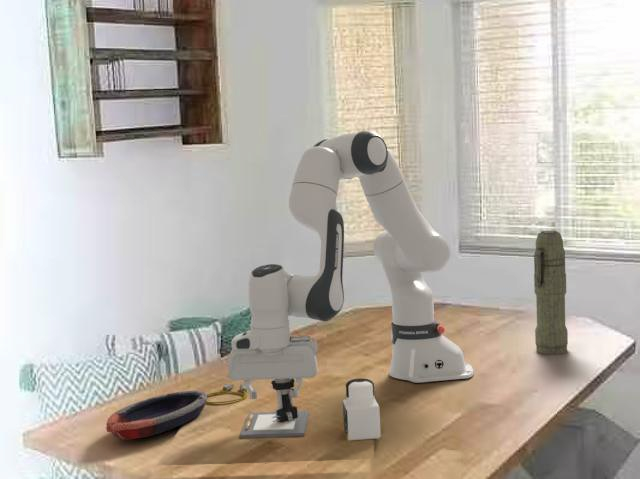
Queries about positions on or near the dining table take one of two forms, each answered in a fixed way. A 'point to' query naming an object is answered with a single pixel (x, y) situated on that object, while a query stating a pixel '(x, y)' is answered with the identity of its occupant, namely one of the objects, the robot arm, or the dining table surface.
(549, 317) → the thermos
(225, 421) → the dining table surface
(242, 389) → the extension cord
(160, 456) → the dining table surface
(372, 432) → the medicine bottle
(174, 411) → the dish
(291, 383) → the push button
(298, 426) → the grey board
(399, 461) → the dining table surface
